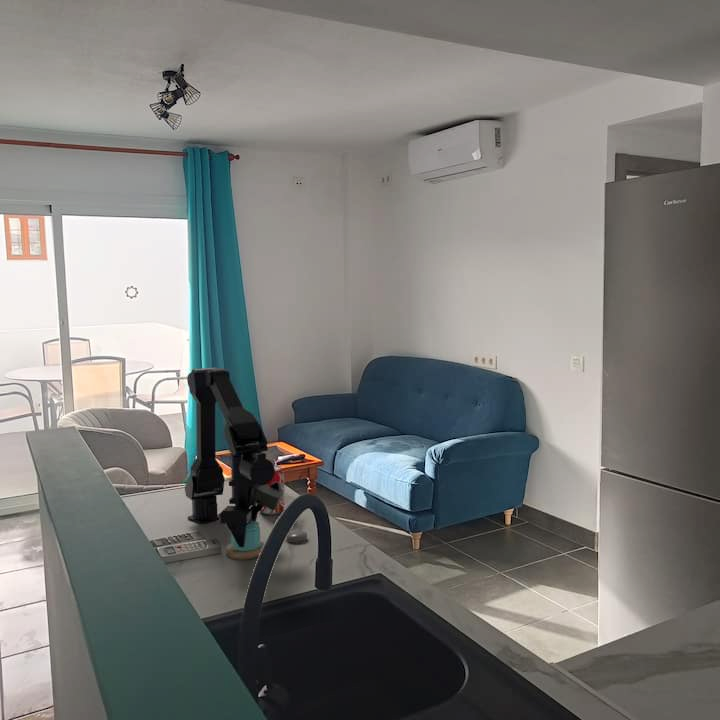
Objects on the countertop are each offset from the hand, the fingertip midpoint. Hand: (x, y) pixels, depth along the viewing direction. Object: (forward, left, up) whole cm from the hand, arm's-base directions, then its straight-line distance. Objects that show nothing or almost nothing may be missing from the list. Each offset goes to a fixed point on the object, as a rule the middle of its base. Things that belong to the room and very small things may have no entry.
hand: (245, 541), depth 163 cm
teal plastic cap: (0, 0, -1) cm, 1 cm away
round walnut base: (0, 0, -2) cm, 2 cm away
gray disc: (+3, +13, -3) cm, 14 cm away
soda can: (-17, +23, -3) cm, 29 cm away
